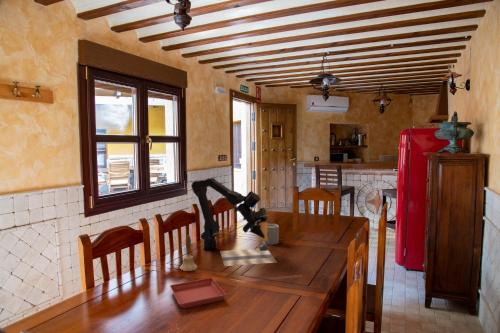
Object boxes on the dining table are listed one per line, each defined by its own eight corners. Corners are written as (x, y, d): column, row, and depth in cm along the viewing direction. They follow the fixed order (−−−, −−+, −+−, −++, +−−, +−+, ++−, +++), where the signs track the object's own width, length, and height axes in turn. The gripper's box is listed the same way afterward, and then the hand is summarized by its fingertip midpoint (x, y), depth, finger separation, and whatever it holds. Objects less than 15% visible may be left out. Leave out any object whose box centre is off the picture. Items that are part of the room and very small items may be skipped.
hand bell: (200, 266, 170) (199, 233, 169) (192, 272, 163) (191, 238, 161) (185, 264, 173) (184, 232, 172) (176, 270, 165) (175, 236, 164)
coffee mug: (272, 245, 202) (272, 228, 201) (258, 242, 208) (258, 226, 208) (285, 240, 212) (285, 224, 212) (272, 237, 219) (272, 221, 218)
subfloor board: (224, 268, 167) (224, 266, 167) (219, 253, 190) (219, 251, 190) (277, 264, 172) (277, 262, 172) (266, 249, 194) (266, 248, 194)
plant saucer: (179, 312, 125) (179, 303, 125) (169, 292, 142) (169, 284, 142) (226, 302, 133) (226, 294, 132) (212, 284, 149) (212, 277, 149)
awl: (262, 251, 177) (262, 224, 176) (257, 249, 181) (257, 222, 180) (269, 250, 180) (269, 223, 179) (265, 247, 184) (265, 221, 183)
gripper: (247, 206, 172) (267, 231, 168) (265, 200, 189) (283, 223, 184) (234, 220, 177) (253, 244, 172) (252, 213, 193) (270, 235, 189)
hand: (266, 236), depth 179 cm, fingers closed on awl, 4 cm apart
